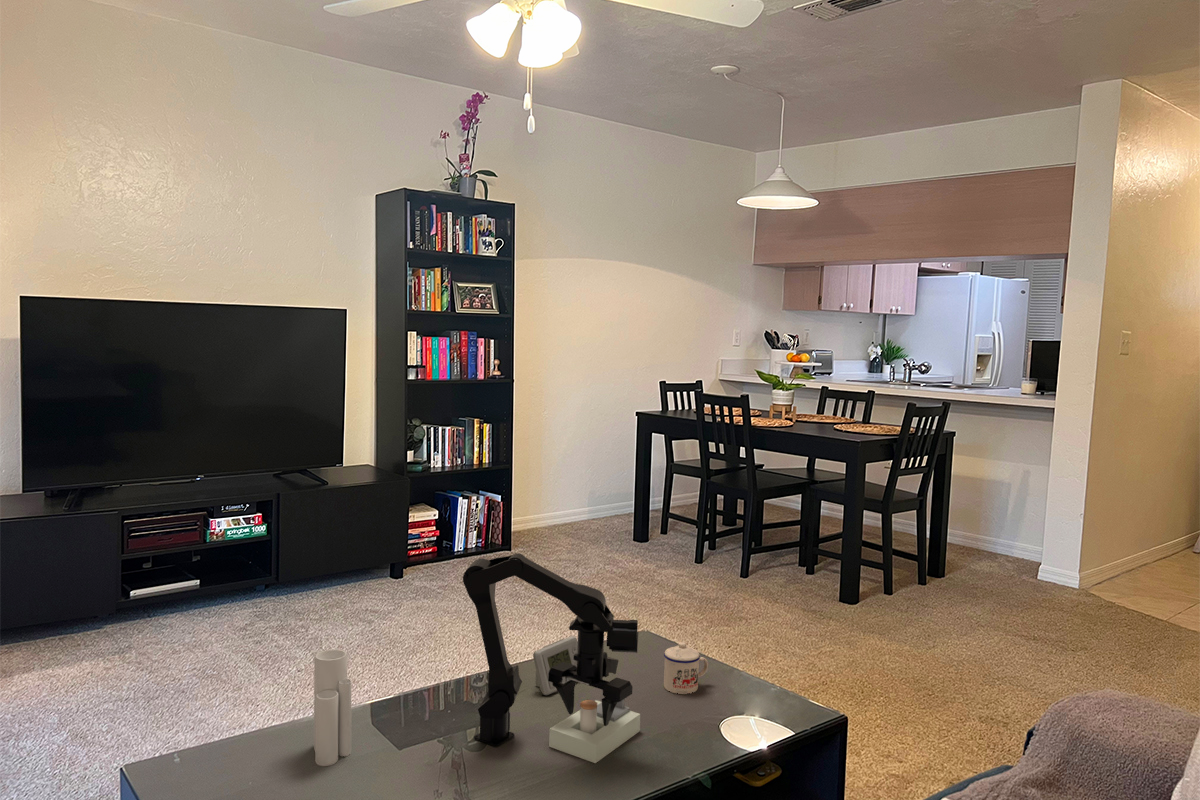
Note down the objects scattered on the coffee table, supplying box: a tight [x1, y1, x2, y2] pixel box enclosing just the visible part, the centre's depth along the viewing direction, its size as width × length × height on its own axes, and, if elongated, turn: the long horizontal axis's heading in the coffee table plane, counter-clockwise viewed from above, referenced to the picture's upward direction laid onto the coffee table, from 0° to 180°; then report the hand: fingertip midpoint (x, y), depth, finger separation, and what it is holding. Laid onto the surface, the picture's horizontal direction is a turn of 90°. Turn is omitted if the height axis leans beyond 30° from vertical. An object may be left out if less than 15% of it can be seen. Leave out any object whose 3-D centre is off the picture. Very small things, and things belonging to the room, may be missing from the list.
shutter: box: [597, 698, 631, 721], centre depth 192 cm, size 7×7×4 cm
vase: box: [313, 648, 352, 767], centre depth 178 cm, size 11×7×20 cm, turn 22°
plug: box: [579, 699, 597, 735], centre depth 185 cm, size 4×4×9 cm
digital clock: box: [532, 635, 578, 696], centre depth 216 cm, size 16×9×11 cm, turn 131°
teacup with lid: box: [663, 641, 709, 695], centre depth 217 cm, size 12×9×12 cm
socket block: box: [548, 699, 641, 764], centre depth 188 cm, size 18×12×4 cm, turn 147°
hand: (588, 719), depth 185 cm, fingers open, 9 cm apart
